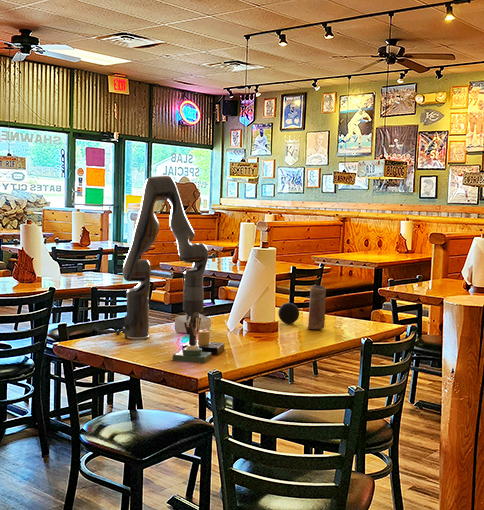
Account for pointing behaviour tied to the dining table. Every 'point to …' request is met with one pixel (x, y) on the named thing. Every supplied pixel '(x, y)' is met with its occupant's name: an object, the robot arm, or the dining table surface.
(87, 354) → the dining table surface
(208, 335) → the knob
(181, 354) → the button block
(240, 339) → the dining table surface
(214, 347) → the panel
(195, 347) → the button
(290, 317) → the decorative ball
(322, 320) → the candle
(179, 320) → the stone
